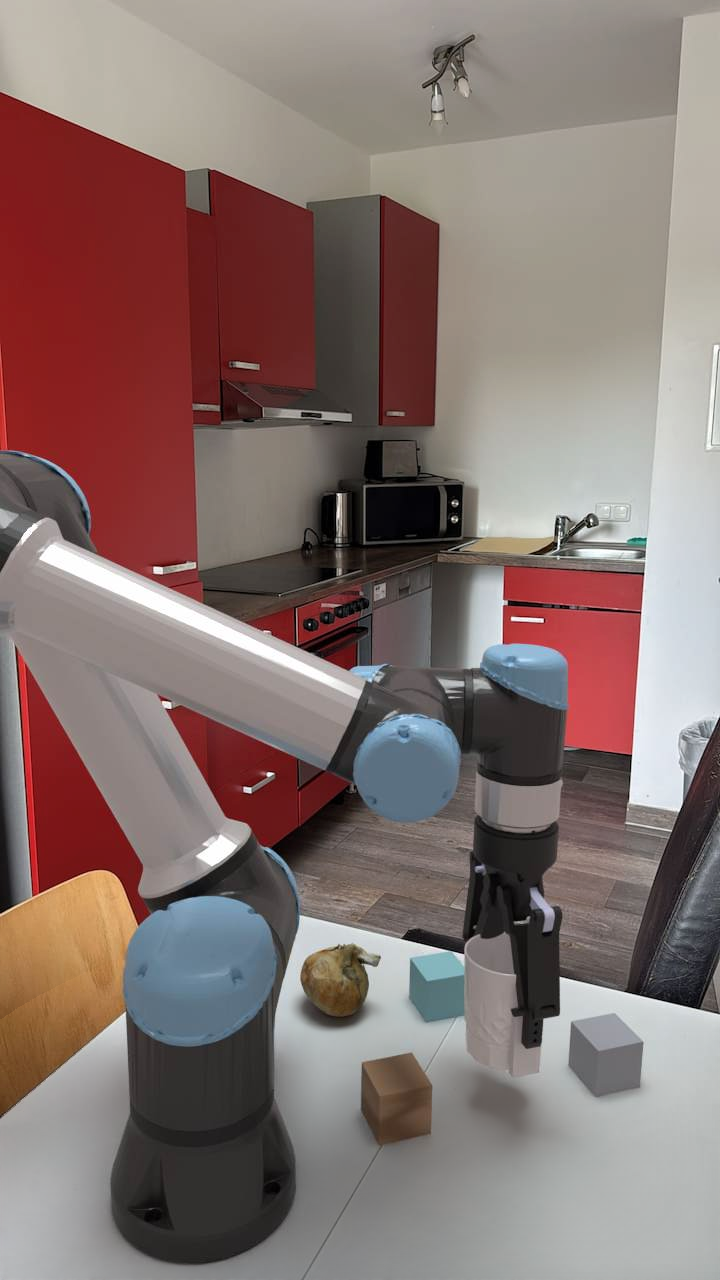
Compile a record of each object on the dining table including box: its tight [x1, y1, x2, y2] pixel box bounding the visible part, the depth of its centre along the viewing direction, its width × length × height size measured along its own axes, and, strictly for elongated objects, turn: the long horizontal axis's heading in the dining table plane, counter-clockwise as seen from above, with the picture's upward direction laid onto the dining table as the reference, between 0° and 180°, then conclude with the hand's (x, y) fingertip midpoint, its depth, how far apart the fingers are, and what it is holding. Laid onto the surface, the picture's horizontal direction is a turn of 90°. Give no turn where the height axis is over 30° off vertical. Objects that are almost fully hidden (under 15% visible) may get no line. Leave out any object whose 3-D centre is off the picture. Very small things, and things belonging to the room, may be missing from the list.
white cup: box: [463, 932, 518, 1071], centre depth 89 cm, size 8×8×10 cm
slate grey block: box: [568, 1012, 645, 1098], centre depth 94 cm, size 5×5×5 cm
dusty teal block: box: [408, 950, 465, 1023], centre depth 106 cm, size 5×5×5 cm
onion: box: [299, 942, 382, 1018], centre depth 105 cm, size 8×8×8 cm
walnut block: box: [360, 1052, 433, 1146], centre depth 87 cm, size 5×5×5 cm
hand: (503, 1045), depth 90 cm, fingers closed on white cup, 8 cm apart
